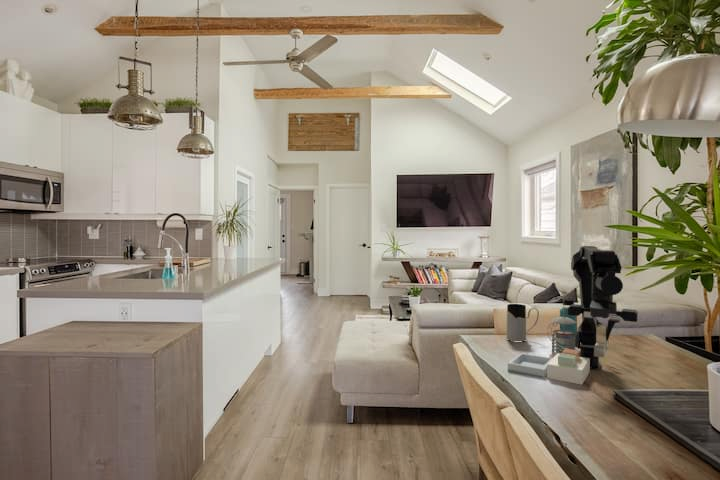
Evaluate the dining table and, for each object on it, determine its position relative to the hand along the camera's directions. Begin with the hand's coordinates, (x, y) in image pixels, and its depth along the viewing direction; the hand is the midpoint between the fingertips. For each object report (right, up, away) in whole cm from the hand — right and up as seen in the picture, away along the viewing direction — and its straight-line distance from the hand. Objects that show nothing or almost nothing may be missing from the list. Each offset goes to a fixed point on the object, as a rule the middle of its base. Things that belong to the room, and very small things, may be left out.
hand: (601, 339), depth 132 cm
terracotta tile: (-5, -8, +8) cm, 13 cm away
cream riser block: (-8, -13, +6) cm, 16 cm away
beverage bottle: (+7, -12, +35) cm, 38 cm away
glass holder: (-5, -12, +51) cm, 52 cm away
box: (-17, -13, +13) cm, 25 cm away
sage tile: (-10, -8, +3) cm, 13 cm away
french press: (-1, -13, +25) cm, 28 cm away
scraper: (0, -4, 0) cm, 4 cm away
